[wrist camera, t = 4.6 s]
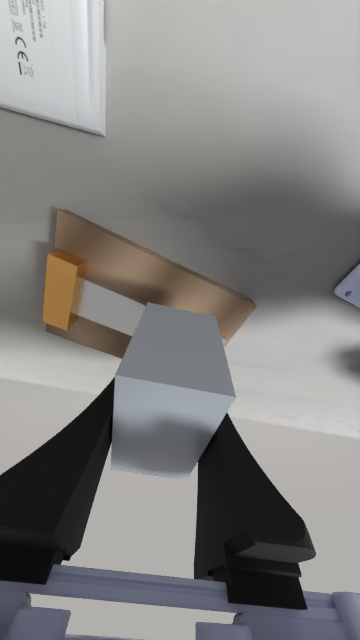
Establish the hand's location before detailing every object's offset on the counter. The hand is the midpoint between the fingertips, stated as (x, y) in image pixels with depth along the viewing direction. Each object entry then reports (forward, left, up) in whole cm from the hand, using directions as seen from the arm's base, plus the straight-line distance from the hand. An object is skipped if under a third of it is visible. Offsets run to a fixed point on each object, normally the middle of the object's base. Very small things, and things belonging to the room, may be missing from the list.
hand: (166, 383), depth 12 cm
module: (0, 0, -2) cm, 2 cm away
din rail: (+3, 0, -7) cm, 7 cm away
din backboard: (+3, 0, -7) cm, 7 cm away
